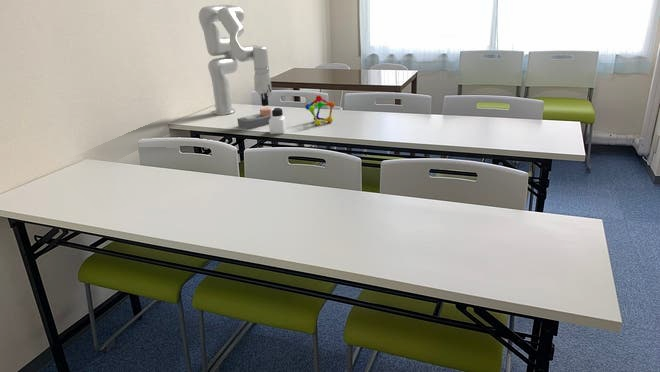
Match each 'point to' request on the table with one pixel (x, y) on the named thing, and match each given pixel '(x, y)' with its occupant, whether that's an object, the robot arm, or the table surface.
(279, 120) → the medicine bottle
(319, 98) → the educational toy
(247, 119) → the grey button
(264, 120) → the console
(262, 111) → the terracotta button
